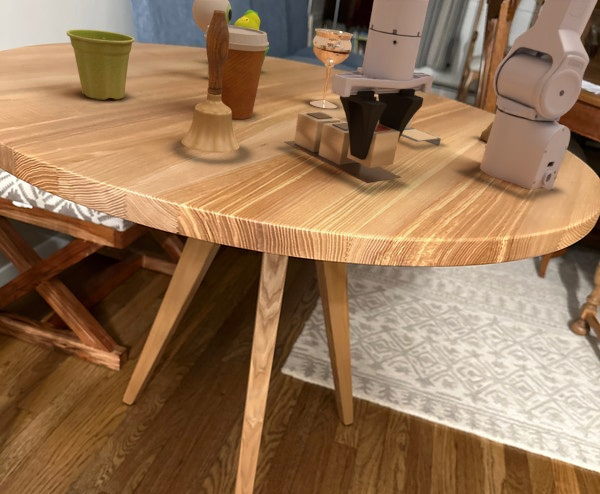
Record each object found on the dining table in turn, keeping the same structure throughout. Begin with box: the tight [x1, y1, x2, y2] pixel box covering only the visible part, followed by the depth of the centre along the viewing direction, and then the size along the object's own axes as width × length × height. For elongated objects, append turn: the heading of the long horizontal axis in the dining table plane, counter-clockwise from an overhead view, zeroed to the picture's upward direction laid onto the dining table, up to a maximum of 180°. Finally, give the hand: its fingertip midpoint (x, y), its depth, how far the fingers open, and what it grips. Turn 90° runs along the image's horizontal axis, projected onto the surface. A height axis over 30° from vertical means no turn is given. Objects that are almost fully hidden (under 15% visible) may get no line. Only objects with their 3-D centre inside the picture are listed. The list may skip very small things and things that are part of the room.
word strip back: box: [374, 94, 442, 146], centre depth 90 cm, size 15×6×5 cm, turn 39°
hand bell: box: [181, 10, 241, 154], centre depth 67 cm, size 8×8×16 cm
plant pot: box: [66, 29, 136, 101], centre depth 85 cm, size 9×9×9 cm
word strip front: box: [284, 111, 402, 184], centre depth 72 cm, size 16×6×5 cm, turn 39°
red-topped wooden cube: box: [347, 123, 400, 168], centre depth 68 cm, size 4×4×4 cm
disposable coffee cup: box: [203, 24, 270, 120], centre depth 85 cm, size 10×10×12 cm
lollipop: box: [191, 0, 233, 80], centre depth 105 cm, size 7×7×15 cm
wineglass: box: [309, 28, 354, 109], centre depth 99 cm, size 7×7×12 cm
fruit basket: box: [233, 9, 270, 66], centre depth 119 cm, size 11×9×11 cm
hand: (371, 155), depth 68 cm, fingers closed on red-topped wooden cube, 4 cm apart
